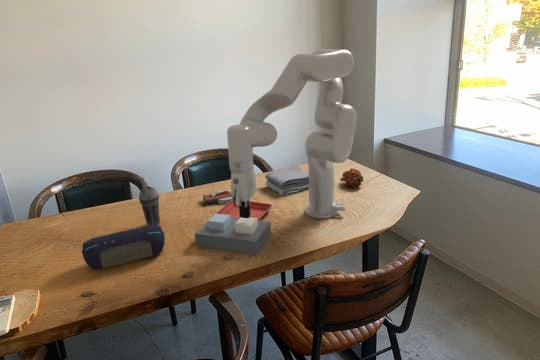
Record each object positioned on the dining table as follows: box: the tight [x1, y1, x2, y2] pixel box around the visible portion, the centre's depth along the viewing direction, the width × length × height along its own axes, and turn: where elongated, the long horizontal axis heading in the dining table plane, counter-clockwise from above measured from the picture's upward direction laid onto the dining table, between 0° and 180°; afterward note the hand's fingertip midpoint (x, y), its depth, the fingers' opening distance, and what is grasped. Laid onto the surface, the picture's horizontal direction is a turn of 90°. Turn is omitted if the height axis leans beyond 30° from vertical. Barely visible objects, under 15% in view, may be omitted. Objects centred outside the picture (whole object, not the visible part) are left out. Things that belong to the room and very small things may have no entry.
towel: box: [264, 164, 309, 196], centre depth 180 cm, size 15×18×8 cm
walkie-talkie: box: [202, 188, 233, 207], centre depth 171 cm, size 9×4×20 cm
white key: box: [235, 217, 258, 235], centre depth 134 cm, size 6×6×5 cm
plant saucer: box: [212, 200, 273, 221], centre depth 154 cm, size 18×18×3 cm
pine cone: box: [339, 167, 364, 188], centre depth 178 cm, size 8×8×12 cm
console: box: [194, 217, 272, 256], centre depth 137 cm, size 22×14×5 cm, turn 70°
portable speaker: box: [81, 225, 166, 270], centre depth 128 cm, size 25×10×10 cm, turn 114°
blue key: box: [207, 213, 231, 231], centre depth 137 cm, size 6×6×5 cm
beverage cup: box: [138, 176, 161, 226], centre depth 148 cm, size 7×7×20 cm
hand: (245, 216), depth 133 cm, fingers closed
